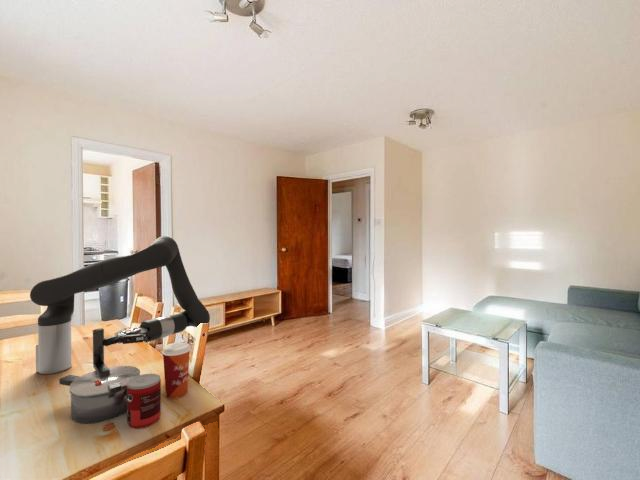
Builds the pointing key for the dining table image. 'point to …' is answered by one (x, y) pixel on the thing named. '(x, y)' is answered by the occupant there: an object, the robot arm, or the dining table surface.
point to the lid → (102, 373)
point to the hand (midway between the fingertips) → (103, 342)
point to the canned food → (143, 400)
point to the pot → (96, 405)
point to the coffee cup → (176, 369)
